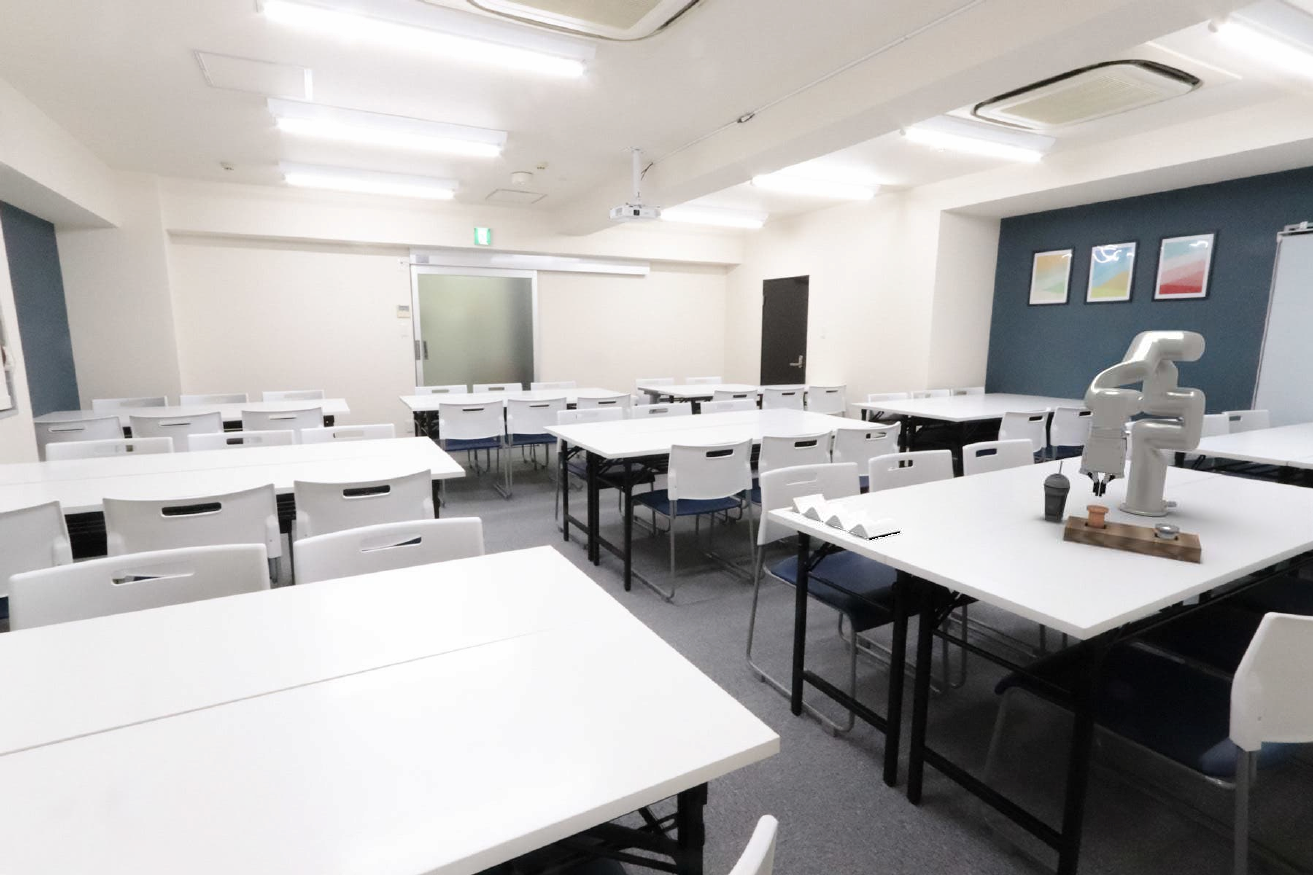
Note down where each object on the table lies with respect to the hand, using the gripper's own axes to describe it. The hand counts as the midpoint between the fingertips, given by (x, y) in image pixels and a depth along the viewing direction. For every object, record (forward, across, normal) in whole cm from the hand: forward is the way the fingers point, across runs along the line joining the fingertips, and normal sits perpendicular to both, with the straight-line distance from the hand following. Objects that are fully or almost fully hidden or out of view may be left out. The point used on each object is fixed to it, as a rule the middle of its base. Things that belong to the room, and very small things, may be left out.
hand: (1098, 495), depth 175 cm
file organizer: (+15, +64, +28) cm, 72 cm away
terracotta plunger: (+10, 0, -1) cm, 10 cm away
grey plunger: (+13, -16, -1) cm, 21 cm away
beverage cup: (+13, +11, -14) cm, 22 cm away
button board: (+13, -8, -1) cm, 16 cm away
